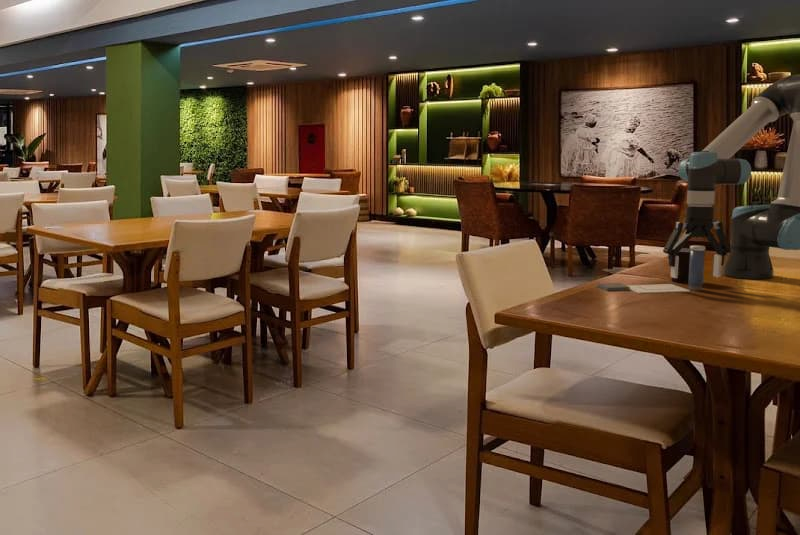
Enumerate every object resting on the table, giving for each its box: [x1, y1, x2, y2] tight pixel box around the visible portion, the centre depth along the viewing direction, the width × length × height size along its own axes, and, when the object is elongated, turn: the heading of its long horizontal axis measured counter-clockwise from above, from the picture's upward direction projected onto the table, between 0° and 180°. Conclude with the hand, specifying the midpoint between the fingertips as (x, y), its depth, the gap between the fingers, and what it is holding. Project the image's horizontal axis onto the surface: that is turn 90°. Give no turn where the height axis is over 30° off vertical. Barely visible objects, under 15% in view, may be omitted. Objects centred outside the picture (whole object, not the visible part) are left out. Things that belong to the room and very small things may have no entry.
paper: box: [627, 283, 691, 294], centre depth 226 cm, size 16×11×1 cm
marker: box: [687, 244, 706, 292], centre depth 224 cm, size 4×4×13 cm
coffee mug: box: [667, 247, 690, 284], centre depth 240 cm, size 12×9×10 cm
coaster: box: [597, 282, 631, 292], centre depth 227 cm, size 7×7×1 cm
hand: (695, 277), depth 224 cm, fingers open, 13 cm apart
